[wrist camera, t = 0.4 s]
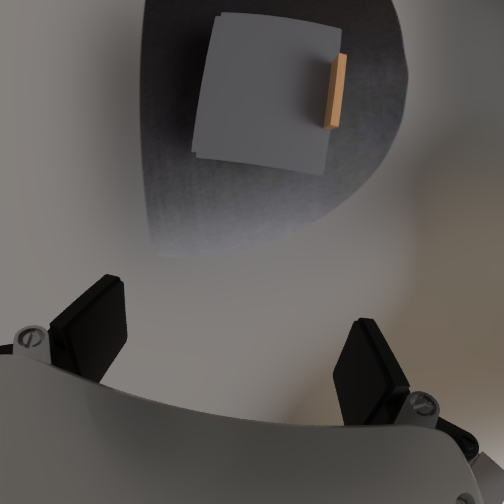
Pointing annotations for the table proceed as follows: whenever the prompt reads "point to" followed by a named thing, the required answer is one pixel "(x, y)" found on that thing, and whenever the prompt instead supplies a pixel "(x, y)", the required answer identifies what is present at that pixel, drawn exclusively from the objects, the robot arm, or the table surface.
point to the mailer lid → (270, 92)
